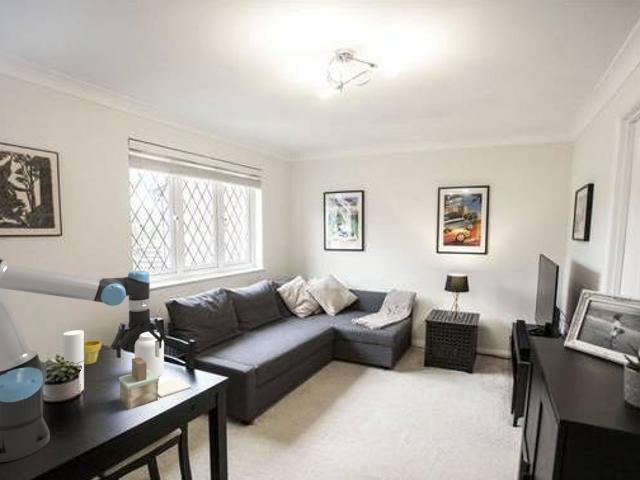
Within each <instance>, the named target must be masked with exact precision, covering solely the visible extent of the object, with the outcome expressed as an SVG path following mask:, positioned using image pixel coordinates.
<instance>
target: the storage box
mask: <svg viewBox="0 0 640 480" xmlns="http://www.w3.org/2000/svg"><path fill="white" fill-rule="evenodd" d="M158 383H159V381H157V382H153V383H150V384H146V385H143V386H139V387H136V388H132V389H129V390H128V389H127V388H126V387H125V386H124V385H123V384H122V383H121V382H120V381H119V400H120V401H121V403H122V404H123V405H124V406H125V407H126V409H127V410H131V409H134V408H138V407H141V406H145V405H147V404H151V403H153V402H156V401H158V400H159V396H158Z"/></svg>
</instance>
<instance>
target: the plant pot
mask: <svg viewBox="0 0 640 480" xmlns="http://www.w3.org/2000/svg"><path fill="white" fill-rule="evenodd" d="M101 348H102V341H100V340H96V339H95V340H93V339H91V340H84V365H91V364H94V363H96V362H97V361H98V357H99V352H100V350H101Z"/></svg>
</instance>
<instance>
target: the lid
mask: <svg viewBox="0 0 640 480" xmlns="http://www.w3.org/2000/svg"><path fill="white" fill-rule="evenodd" d="M118 381H119V383H120V382H121V383H122V384H123V385H124V386H125V387H126V388H127V389H128V390H129V389H132V388H136V387H139V386H143V385H146V384H150V383H153V382H157V381H158V382H159V381H160V376H159V377H157V376H156V375H155V374H154V373H153V372H151V371H150V370H146V362H145V361H144V360H143V359H142V358H140V357H138V358H135V357H134V358H131V373H130V374H125V375H121V376H119V377H118Z"/></svg>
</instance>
